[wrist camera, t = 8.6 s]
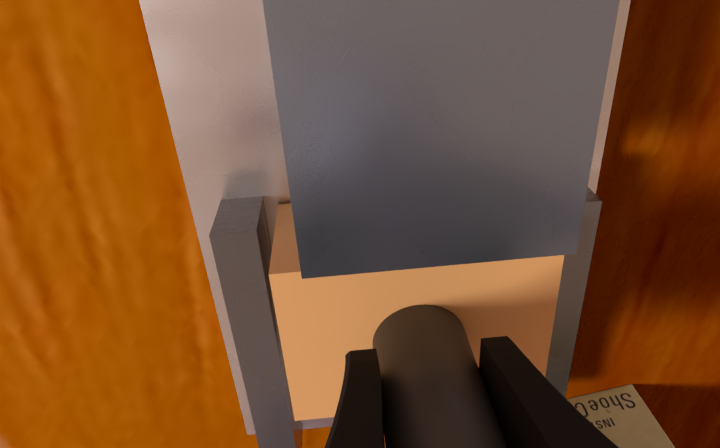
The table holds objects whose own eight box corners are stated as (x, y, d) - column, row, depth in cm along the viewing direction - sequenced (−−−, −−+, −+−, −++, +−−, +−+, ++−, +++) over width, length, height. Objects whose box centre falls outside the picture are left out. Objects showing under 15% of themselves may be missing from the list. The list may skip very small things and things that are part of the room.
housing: (482, 184, 16) (564, 317, 10) (312, 199, 15) (310, 342, 10) (497, -67, 12) (629, -56, 7) (282, -51, 12) (258, -29, 7)
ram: (504, 316, 18) (633, 588, 11) (298, 335, 18) (286, 627, 10) (517, 183, 16) (696, 419, 8) (277, 204, 15) (242, 467, 8)
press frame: (543, 374, 22) (599, 487, 18) (251, 403, 22) (235, 525, 17) (648, -300, 12) (845, -430, 7) (94, -269, 11) (-44, -386, 7)
